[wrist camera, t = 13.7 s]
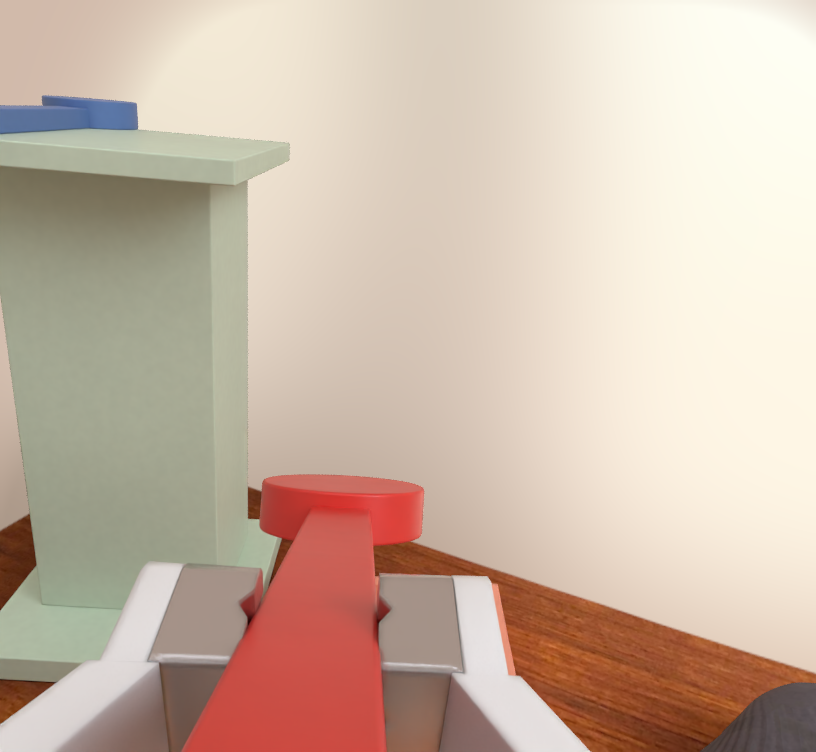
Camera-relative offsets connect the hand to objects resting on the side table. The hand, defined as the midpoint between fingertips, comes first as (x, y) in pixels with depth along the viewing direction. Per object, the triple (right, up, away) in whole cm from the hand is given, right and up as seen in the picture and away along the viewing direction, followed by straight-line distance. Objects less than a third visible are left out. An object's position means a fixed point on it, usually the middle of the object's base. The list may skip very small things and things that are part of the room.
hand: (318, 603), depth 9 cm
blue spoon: (-16, +15, +23) cm, 32 cm away
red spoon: (0, -1, +4) cm, 4 cm away
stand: (-15, -11, +33) cm, 38 cm away
